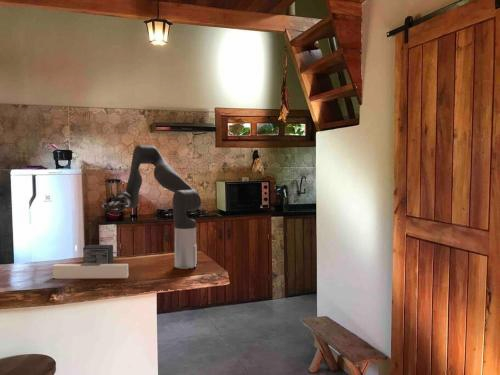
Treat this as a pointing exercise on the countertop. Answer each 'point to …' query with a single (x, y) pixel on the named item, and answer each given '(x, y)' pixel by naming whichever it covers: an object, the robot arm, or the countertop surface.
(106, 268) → the board
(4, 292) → the countertop surface
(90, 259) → the small box
